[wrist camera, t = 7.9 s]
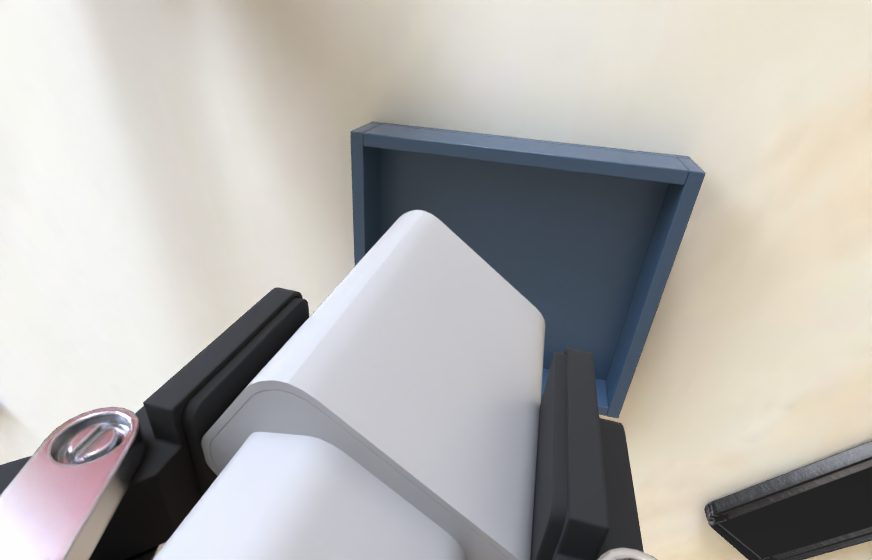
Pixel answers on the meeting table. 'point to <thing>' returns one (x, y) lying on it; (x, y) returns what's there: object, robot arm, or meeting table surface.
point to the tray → (542, 227)
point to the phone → (801, 510)
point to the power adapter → (385, 420)
